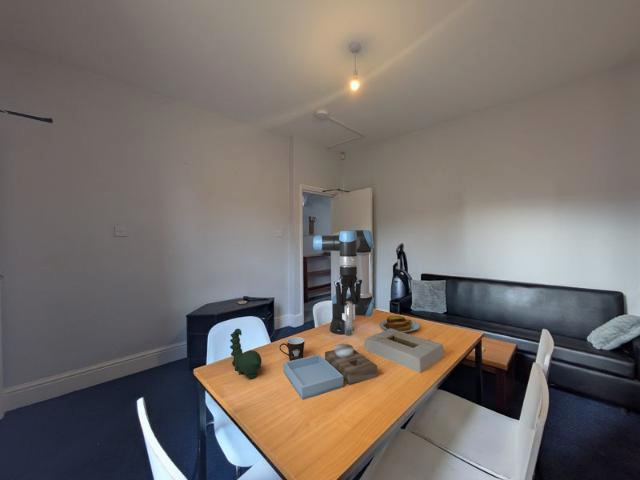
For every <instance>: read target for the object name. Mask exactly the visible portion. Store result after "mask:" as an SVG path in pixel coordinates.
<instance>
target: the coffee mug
mask: <svg viewBox="0 0 640 480" xmlns="http://www.w3.org/2000/svg"><path fill="white" fill-rule="evenodd" d="M305 340H306V339H305V338H304V337H300V336H293V337H290V338H288V339H287V340H286V342H287V343H281V344H280V345H279V350H280V352H282V353H283V354H285V355H286V356H288V361H292V360H297V359H301V358H304V351H305ZM282 346H285V347H286V348H287V352H285V351H284V350H282V348H281V347H282Z"/></svg>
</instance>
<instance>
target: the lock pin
mask: <svg viewBox="0 0 640 480" xmlns="http://www.w3.org/2000/svg"><path fill="white" fill-rule="evenodd" d="M345 305H346V306H347V321H345V334H344V335H345V336H348V337H351V336H353V335H354V321H353V302H350V301H347V302H346V304H345Z"/></svg>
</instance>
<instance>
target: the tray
mask: <svg viewBox="0 0 640 480" xmlns="http://www.w3.org/2000/svg"><path fill="white" fill-rule="evenodd" d="M283 374H284V376H285V377H286V378H287V380H288V381H289V383H290V384H291V385H292V387H293V388H294V391H296V393H297V394H298V396H299V397H300V399H301V400H302V401H303V400H306V399H309V398H314V397H317V396H319V395H322V394H326V393H328V392H332V391H335V390H339V389H342V388H344V379H343V375H342V374H340V373H339V372H338V371H337V370H336V369H335V368H334V367H333V366H332V365H331V364H330V363H328V362H327V361H326V360H325V357H323V355H321V354H315V355H310V356H305V357H303V358H301V359H297V360H292V361H290V360H288V361H284V362H283Z"/></svg>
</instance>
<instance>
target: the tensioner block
mask: <svg viewBox="0 0 640 480" xmlns="http://www.w3.org/2000/svg"><path fill="white" fill-rule="evenodd" d="M324 359H325V360H326V361H327V362H328V363H330V364H331V365H332V366H333V367H334V368H335V369H336V370H337V371H338V372H339V373H340V374H342V375H343V381H344V382H345V383H346V384H347V385H349V386H351V385H355V384H358V383H361V382H365V381H368V380H371V379H375V378H377V377H378V365H377V364H376V363H374V362H373V361H371V360H370V359H369V358H367V357H365V356H364V355H362V354H361V353H360V352H359V351H357V350H356V349H354V346H353V345H351V344H348V343H338V344H336V345H335V346H334V348H333V349H332V350H328V351H327V350H326V351H325V352H324Z"/></svg>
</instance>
